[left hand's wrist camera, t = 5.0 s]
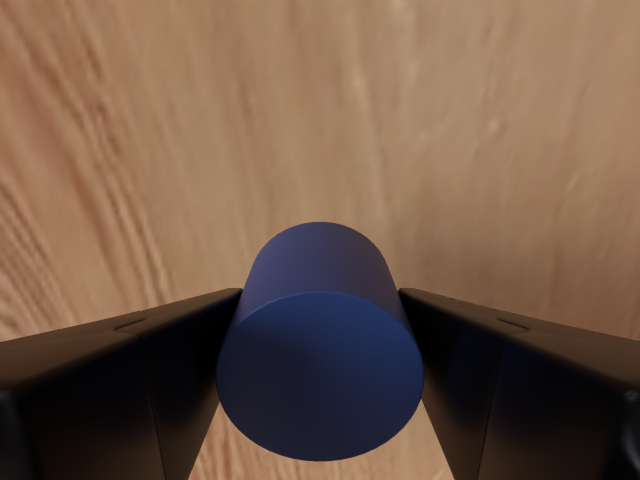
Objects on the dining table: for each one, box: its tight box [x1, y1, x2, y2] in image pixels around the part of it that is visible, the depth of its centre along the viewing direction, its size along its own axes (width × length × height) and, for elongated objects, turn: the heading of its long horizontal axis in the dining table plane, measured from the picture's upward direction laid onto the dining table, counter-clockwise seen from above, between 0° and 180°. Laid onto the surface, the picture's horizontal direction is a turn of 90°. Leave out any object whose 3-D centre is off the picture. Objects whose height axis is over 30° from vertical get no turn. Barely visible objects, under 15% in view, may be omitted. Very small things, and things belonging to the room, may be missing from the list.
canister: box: [215, 222, 425, 461], centre depth 10 cm, size 4×4×4 cm
